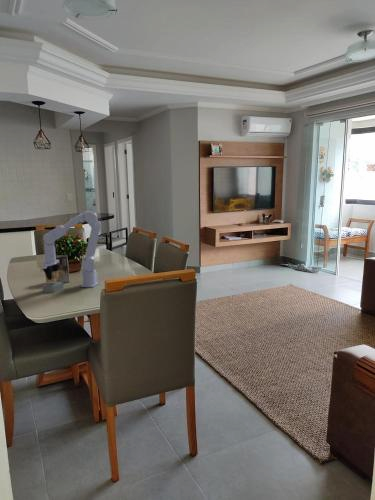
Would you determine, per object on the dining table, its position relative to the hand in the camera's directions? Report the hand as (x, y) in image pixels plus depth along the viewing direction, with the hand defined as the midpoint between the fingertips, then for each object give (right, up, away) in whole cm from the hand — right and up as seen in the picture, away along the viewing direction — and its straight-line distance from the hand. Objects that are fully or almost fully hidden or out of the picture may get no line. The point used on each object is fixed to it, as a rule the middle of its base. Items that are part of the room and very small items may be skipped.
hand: (52, 278), depth 204 cm
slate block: (0, -7, +1) cm, 7 cm away
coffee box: (-1, -4, +18) cm, 19 cm away
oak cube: (0, -2, 0) cm, 2 cm away
